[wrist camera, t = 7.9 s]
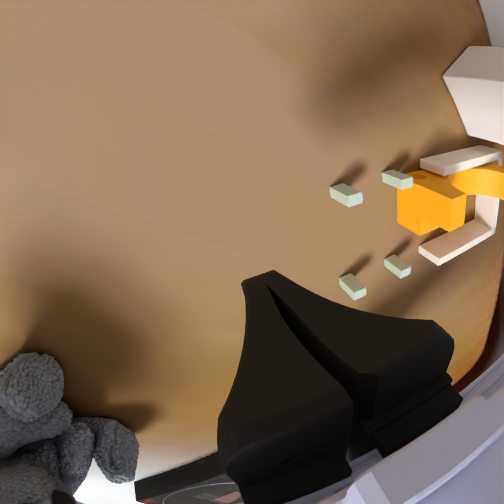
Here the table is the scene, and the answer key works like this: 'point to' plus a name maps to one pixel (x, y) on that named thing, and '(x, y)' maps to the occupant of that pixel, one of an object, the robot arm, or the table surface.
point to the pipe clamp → (445, 197)
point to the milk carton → (479, 91)
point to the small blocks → (349, 199)
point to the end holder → (485, 205)
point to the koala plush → (53, 437)
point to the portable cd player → (190, 485)
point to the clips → (402, 183)
